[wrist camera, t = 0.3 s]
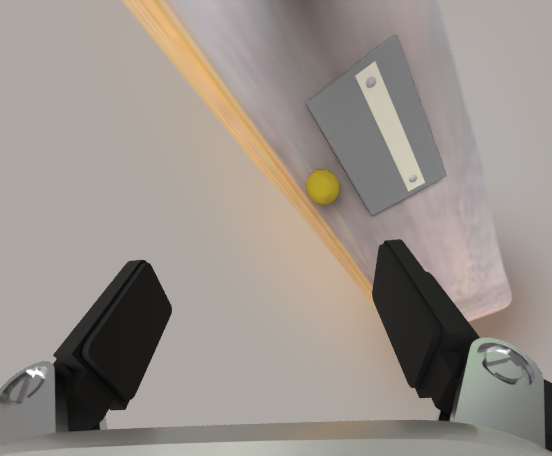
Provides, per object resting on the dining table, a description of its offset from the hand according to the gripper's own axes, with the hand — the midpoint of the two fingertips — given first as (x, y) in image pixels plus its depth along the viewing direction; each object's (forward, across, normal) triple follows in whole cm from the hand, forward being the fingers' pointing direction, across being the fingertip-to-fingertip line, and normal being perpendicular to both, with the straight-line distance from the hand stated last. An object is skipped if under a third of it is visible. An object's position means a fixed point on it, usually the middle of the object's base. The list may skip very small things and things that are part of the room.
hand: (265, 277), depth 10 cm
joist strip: (+34, -19, +3) cm, 39 cm away
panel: (+35, -17, +4) cm, 39 cm away
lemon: (+36, -7, +10) cm, 38 cm away
